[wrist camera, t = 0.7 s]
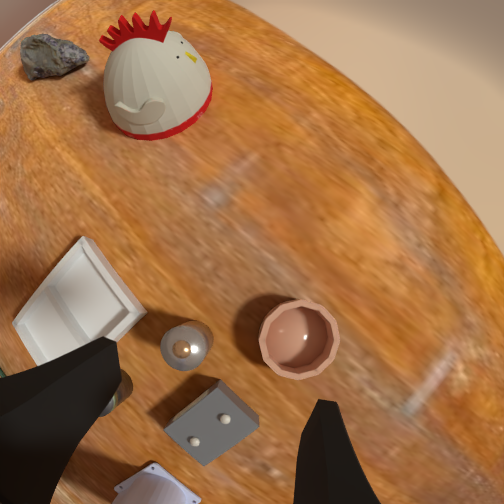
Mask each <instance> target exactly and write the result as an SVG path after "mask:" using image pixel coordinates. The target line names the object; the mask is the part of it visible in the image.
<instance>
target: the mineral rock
mask: <svg viewBox="0 0 504 504" xmlns="http://www.w3.org/2000/svg"><path fill="white" fill-rule="evenodd" d="M20 54H21V61H22V64H23V68H24V71H25V73H26V74H27V75H28V78H29V79H30V80H35V79H36V78H38V77H42V78H45V77H48V76H55V75H58V76H61V75H63V74H65V73H67V72H68V71H70V70H71V69H73V68H75V67H76V66H79V65H82V64H84V63H86V62H88V61H89V56H88V55H87V53H86V51H85V50H83V49H81V48H80V47H78V46H76V45H75V44H73V42H70V41H67V40H61V39H56V38H53V37H51V36H49V35H48V34H39V35H32V36H31V37H26V38H25V39H24V40H23V41H22V42H21V49H20Z"/></svg>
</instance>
